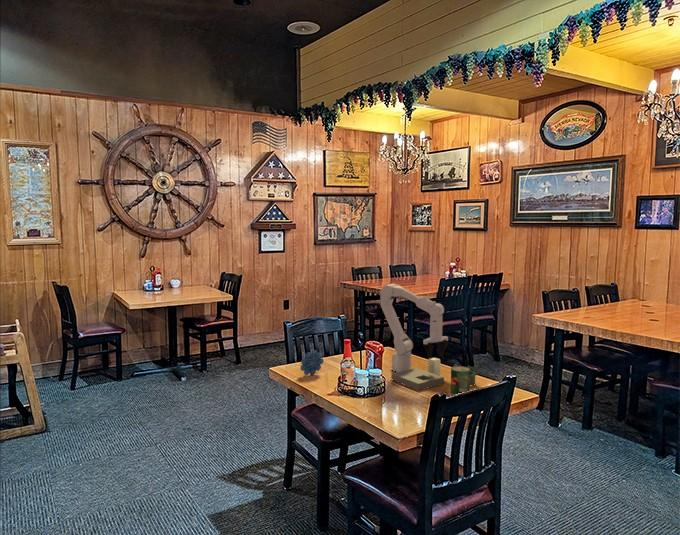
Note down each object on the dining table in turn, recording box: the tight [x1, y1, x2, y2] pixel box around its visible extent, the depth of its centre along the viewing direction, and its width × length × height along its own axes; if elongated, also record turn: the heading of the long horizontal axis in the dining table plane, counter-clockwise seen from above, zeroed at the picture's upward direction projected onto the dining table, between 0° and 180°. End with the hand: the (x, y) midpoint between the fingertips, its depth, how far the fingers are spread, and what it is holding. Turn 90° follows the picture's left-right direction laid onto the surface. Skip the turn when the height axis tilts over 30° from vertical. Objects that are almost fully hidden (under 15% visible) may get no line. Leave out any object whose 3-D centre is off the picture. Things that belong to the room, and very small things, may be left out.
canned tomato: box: [450, 365, 471, 396], centre depth 215 cm, size 8×8×11 cm
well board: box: [390, 368, 445, 391], centre depth 231 cm, size 18×16×3 cm
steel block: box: [427, 357, 441, 376], centre depth 241 cm, size 4×4×8 cm
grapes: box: [300, 350, 325, 376], centre depth 242 cm, size 12×7×12 cm, turn 109°
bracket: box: [453, 363, 479, 387], centre depth 229 cm, size 9×9×9 cm
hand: (435, 357), depth 239 cm, fingers open, 7 cm apart
